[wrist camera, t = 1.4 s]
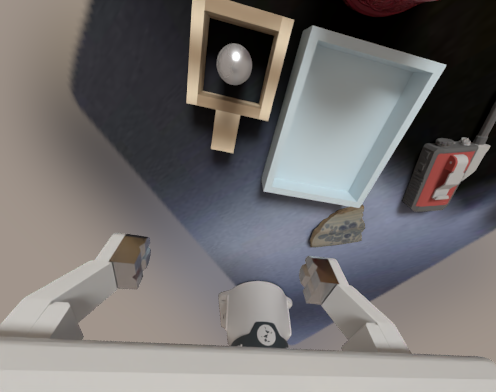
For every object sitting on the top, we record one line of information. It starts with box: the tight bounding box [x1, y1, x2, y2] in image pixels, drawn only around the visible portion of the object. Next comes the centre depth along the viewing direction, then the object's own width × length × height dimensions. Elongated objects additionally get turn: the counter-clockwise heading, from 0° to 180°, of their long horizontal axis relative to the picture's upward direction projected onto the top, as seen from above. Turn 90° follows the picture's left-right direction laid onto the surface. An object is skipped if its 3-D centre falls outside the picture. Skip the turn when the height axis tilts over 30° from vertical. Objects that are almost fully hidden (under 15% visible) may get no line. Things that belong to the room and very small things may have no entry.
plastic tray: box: [261, 26, 446, 208], centre depth 29 cm, size 20×16×4 cm
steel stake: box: [217, 43, 252, 85], centre depth 22 cm, size 3×3×10 cm
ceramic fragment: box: [310, 205, 365, 247], centre depth 41 cm, size 11×3×10 cm
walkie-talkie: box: [402, 101, 496, 212], centre depth 32 cm, size 9×4×20 cm
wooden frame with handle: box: [186, 0, 294, 153], centre depth 26 cm, size 15×10×4 cm, turn 168°
